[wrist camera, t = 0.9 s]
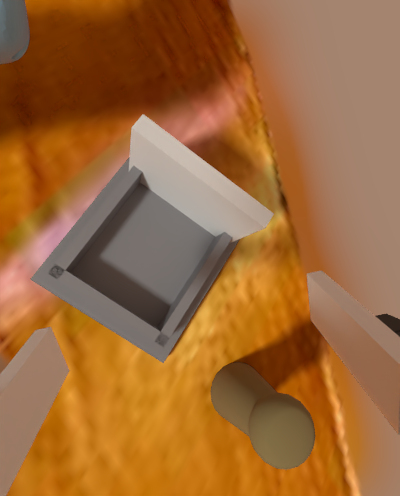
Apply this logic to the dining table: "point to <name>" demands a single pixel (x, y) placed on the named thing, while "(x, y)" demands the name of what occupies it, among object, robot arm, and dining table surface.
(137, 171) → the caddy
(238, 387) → the cork
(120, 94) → the dining table surface
